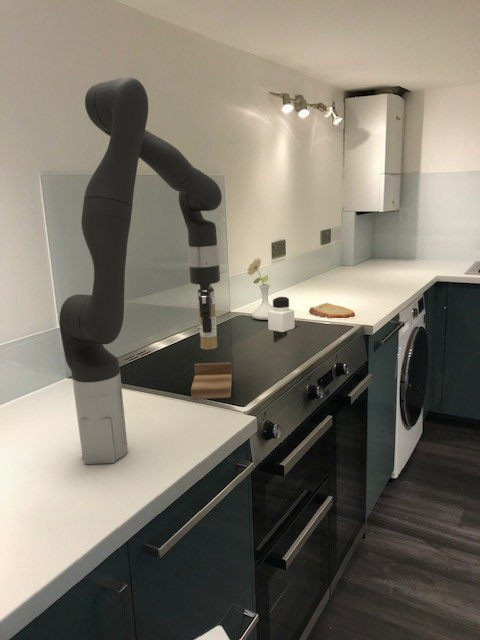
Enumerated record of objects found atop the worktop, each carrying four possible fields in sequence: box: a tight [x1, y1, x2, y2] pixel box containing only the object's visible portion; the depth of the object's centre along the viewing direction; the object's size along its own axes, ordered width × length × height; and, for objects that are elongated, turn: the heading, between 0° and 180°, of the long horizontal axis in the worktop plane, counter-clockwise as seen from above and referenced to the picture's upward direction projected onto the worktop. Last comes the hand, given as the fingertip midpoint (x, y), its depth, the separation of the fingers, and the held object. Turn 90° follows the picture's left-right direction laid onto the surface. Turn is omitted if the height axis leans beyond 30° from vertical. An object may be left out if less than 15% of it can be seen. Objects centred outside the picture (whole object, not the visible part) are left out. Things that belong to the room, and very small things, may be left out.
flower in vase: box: [247, 257, 274, 321], centre depth 216 cm, size 13×11×25 cm
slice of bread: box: [308, 302, 356, 319], centre depth 221 cm, size 18×18×4 cm
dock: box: [190, 361, 233, 400], centre depth 144 cm, size 12×10×6 cm
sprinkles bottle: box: [196, 296, 219, 350], centre depth 139 cm, size 5×5×14 cm
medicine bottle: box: [267, 296, 296, 333], centre depth 201 cm, size 7×7×12 cm
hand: (208, 329), depth 139 cm, fingers closed on sprinkles bottle, 4 cm apart
